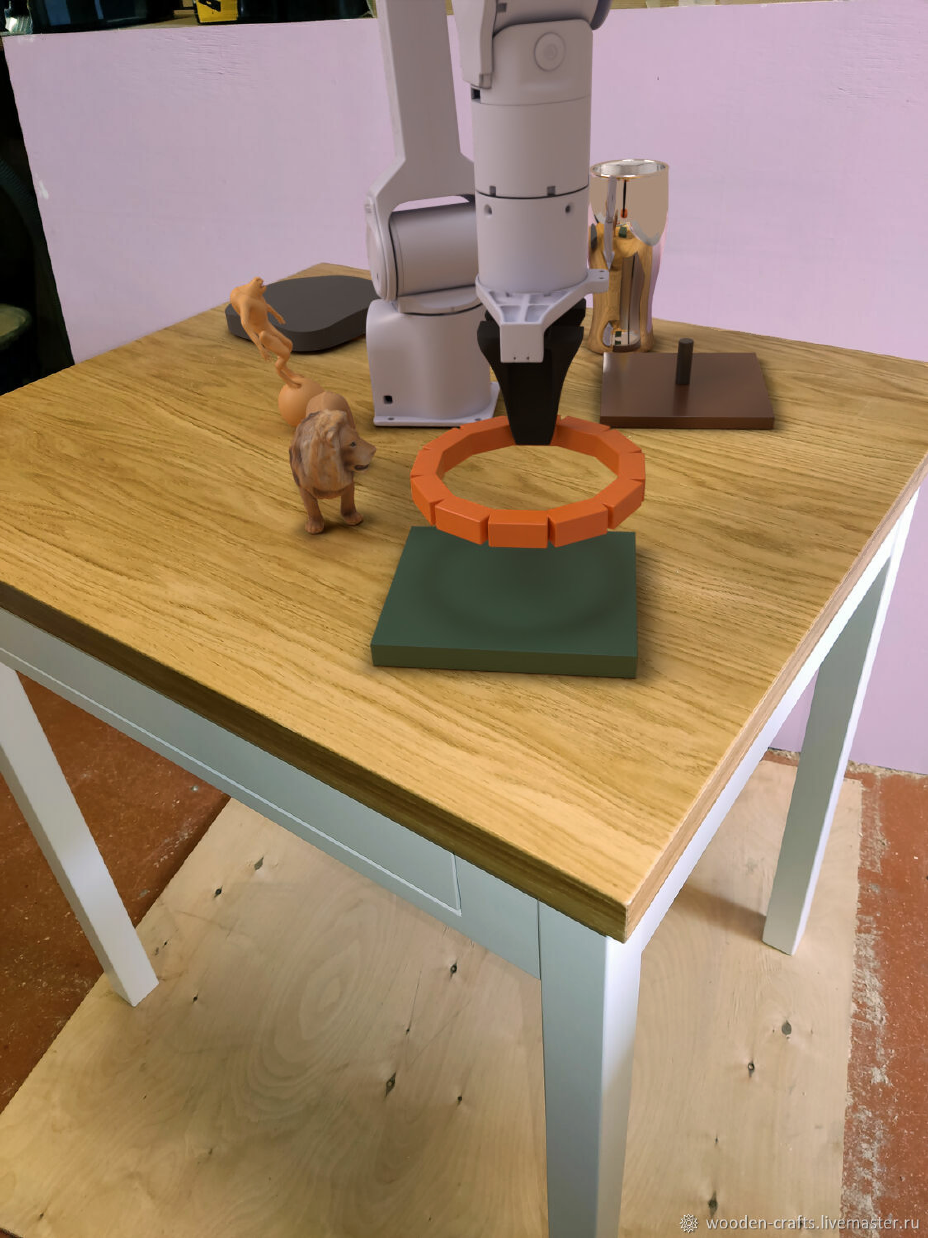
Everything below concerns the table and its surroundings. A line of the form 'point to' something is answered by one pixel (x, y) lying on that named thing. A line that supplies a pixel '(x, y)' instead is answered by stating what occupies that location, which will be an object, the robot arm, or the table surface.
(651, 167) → the beer glass
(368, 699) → the table surface
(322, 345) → the media streaming box
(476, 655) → the stand
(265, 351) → the figurine
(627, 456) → the ring
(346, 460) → the lion figurine
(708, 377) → the post
